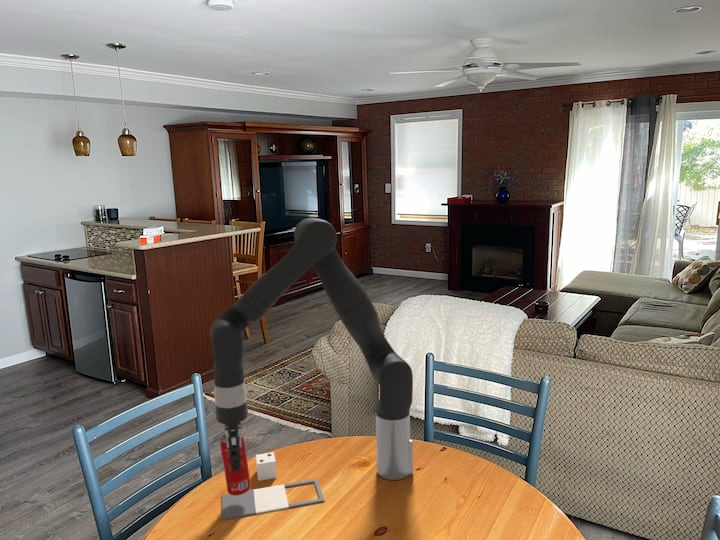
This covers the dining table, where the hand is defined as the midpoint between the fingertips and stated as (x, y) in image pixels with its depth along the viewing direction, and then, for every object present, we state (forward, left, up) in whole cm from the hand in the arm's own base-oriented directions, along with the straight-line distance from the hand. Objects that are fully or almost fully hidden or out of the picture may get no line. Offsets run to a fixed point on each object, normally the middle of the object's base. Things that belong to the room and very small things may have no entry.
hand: (235, 463), depth 132 cm
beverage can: (0, 0, -8) cm, 8 cm away
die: (-8, -12, -11) cm, 18 cm away
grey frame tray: (-8, 0, -11) cm, 14 cm away
